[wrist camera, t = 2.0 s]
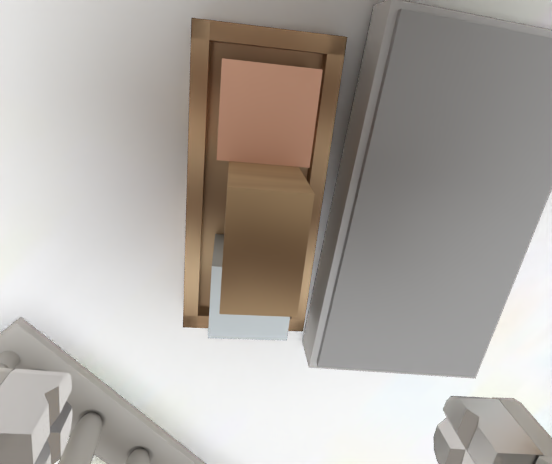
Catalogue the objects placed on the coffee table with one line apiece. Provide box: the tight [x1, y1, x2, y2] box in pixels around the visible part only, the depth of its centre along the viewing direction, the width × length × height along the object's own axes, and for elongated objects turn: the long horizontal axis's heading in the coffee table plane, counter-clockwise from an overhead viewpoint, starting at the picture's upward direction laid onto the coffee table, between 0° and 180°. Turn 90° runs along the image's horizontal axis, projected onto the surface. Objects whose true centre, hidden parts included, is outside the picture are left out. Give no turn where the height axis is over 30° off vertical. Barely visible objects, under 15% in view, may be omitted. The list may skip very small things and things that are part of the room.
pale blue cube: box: [208, 234, 290, 340], centre depth 22 cm, size 4×4×4 cm
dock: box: [302, 0, 552, 378], centre depth 24 cm, size 20×11×3 cm, turn 171°
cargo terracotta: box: [217, 58, 323, 168], centre depth 19 cm, size 4×4×4 cm
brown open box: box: [183, 18, 347, 331], centre depth 20 cm, size 16×7×10 cm, turn 174°
